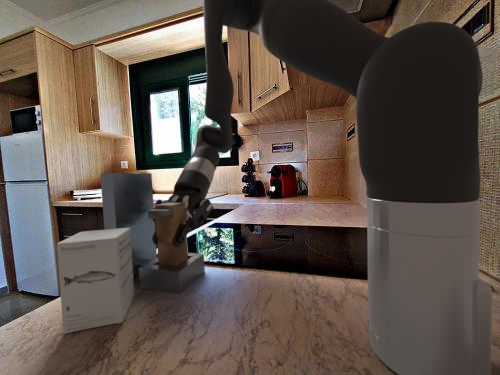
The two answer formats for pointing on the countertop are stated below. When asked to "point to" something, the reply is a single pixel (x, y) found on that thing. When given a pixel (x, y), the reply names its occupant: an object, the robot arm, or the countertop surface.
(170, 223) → the tan post
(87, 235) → the supplement box
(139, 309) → the countertop surface
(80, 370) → the countertop surface
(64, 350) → the countertop surface
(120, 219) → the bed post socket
